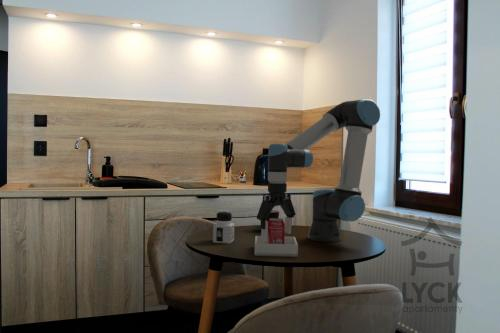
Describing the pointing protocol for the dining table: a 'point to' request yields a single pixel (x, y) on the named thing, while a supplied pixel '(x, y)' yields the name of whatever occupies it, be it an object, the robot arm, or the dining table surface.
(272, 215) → the coffee mug
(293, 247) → the bin
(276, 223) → the soda can
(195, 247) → the dining table surface
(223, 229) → the container
